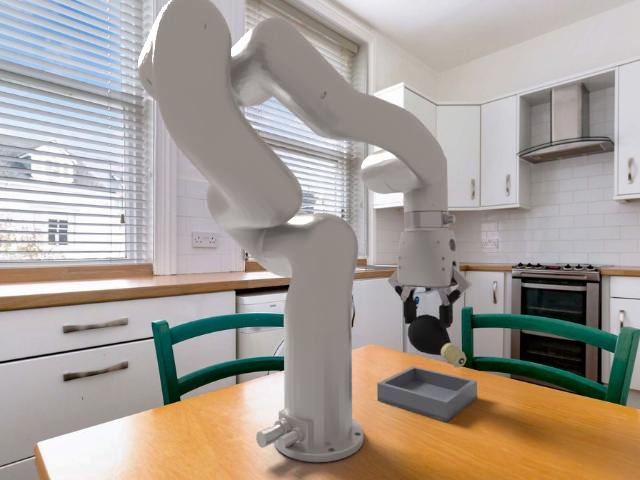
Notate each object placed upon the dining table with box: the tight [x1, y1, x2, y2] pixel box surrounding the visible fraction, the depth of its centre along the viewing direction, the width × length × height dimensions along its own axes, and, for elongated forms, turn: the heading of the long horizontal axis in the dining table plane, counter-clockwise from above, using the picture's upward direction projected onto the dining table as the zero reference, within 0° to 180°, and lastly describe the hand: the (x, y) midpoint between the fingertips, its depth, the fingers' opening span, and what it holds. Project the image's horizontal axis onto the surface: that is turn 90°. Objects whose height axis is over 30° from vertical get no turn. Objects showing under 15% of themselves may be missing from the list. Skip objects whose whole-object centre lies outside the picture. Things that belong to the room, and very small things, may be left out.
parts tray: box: [376, 365, 478, 423], centre depth 67 cm, size 13×13×3 cm
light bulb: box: [407, 314, 467, 369], centre depth 65 cm, size 7×7×12 cm
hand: (427, 324), depth 68 cm, fingers closed on light bulb, 5 cm apart
